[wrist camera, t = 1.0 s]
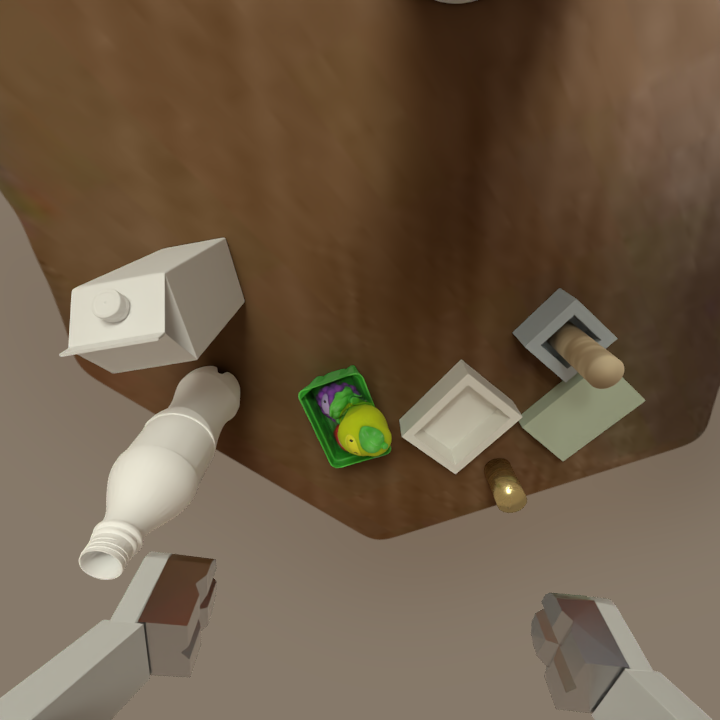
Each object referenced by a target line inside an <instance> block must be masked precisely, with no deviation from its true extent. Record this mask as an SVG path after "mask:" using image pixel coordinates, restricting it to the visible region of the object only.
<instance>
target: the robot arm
mask: <svg viewBox="0 0 720 720" xmlns="http://www.w3.org/2000/svg"><path fill="white" fill-rule="evenodd" d="M436 1H439V2H444V3H453V4H456V3H468V2H472V1H476V0H436ZM215 571H216V559H209V558H201V557H193V556H186V555H178V554H171V553H161V552H150V553H149V554H148V555H147V556H146V557H145V558H144V560H143V562H142V563H141V565H140V567H139V569H138V571H137V573H136V574H135V576H134V578H133V580H132V581H131V583H130V585H129V587H128V589H127V591H126V592H125V594H124V596H123V598H122V600H121V601H120V603H119V605H118V607H117V609H116V610H115V613H114V614H113V616H112V618H111V620H103V621H101V622H100V623H98V624H97V625H96V626H94V627H93V628H92V629H91V630H89V631H88V632H87V633H86V634H84V635H83V636H81V637H80V638H79V639H77V640H76V641H75V642H74V643H72V644H71V645H70V646H68V647H67V648H66V649H64V650H63V651H62V652H60V653H59V654H58V655H56V656H55V657H54V658H52V659H51V660H50V661H49V662H47V663H46V664H45V665H43V666H42V667H41V668H39V669H38V670H37V671H35V672H34V673H33V674H31V675H30V676H29V677H27V678H26V679H25V680H24V681H22V682H21V683H20V684H18V685H17V686H16V687H14V688H13V689H12V690H10V691H9V692H8V693H6V694H5V695H4V696H3V697H1V698H0V720H111V719H113V718H114V716H115V715H116V714H117V713H118V712H119V711H120V710H121V709H122V708H123V707H124V706H125V705H126V704H127V703H128V701H129V700H130V699H131V698H132V697H133V696H134V695H135V694H136V693H137V692H138V691H139V690H140V688H141V687H142V686H143V685H144V684H145V683H146V682H147V681H148V680H149V679H150V675H155V676H156V675H157V676H173V677H175V676H176V677H191V674H192V671H193V668H194V665H195V661H196V659H197V656H198V653H199V650H200V647H201V631H202V630H203V629H204V628H205V627H206V626H207V625H208V623H209V620H210V616H211V613H212V610H213V605H214V601H215V596H216V580H215V579H214V578H213V577H214V574H215ZM542 604H543V607H544V609H542V610H540V611H539V612H537V613H535V616H534V618H533V620H532V625H531V626H532V628H531V636H532V641H533V646H534V649H535V651H536V654H537V656H538V658H539V659H540V660H541V661H542V662H543V663H544V664H545V665H546V666H547V668H546V671H545V675H544V677H545V680H546V683H547V685H548V688H549V691H550V694H551V697H552V700H553V702H554V705H555V708H556V709H560V710H568V711H576V712H585V713H593V714H592V715H591V716H592V717H593V718H594V720H712V719H711V718H710V717H709V716H708V715H707V714H706V713H705V712H704V711H702V710H701V709H700V708H699V707H698V706H697V705H696V704H695V703H694V702H692V701H691V700H690V699H689V698H688V697H687V696H686V695H685V694H684V693H682V692H681V691H680V690H679V689H678V688H677V687H676V686H675V685H674V684H673V683H671V682H670V681H669V680H668V679H667V678H666V677H665V676H664V675H663V674H661V673H660V672H657V671H653V669H652V668H651V666H650V664H649V663H648V661H647V659H646V657H645V656H644V654H643V652H642V650H641V649H640V647H639V645H638V644H637V642H636V640H635V638H634V636H633V635H632V633H631V631H630V630H629V628H628V626H627V624H626V623H625V621H624V619H623V617H622V616H621V614H620V612H619V610H618V609H617V607H616V605H615V604H614V603H613V602H612V601H611V600H610V599H606V598H596V597H587V596H581V595H570V594H558V593H548V594H546V595H545V596H544V598H543V600H542Z"/></svg>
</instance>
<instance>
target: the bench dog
mask: <svg viewBox="0 0 720 720" xmlns="http://www.w3.org/2000/svg"><path fill="white" fill-rule="evenodd" d="M484 473H485V475H486V478H487V480H488V483H489V486H490V488H491V491H492V493H493V496H494V498H495V501H496V504H497V506H498V508H499V509H500V510H501V511H503V512H507V513H513V512H517V511H519V510H521V509H522V508H523V507H524V506H525V505H526V503H527V498H526V495H525V493H524V491H523V489H522V487H521V485H520V483H519V481H518V479H517V477H516V475H515V473H514V471H513V469H512V466H511V464H510V463H509V462H508V461H507V460H505V459H502V458H497V459H493V460H491V461H489V462H488V463H487V464H486V466H485V468H484Z"/></svg>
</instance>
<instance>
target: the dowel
mask: <svg viewBox="0 0 720 720" xmlns="http://www.w3.org/2000/svg"><path fill="white" fill-rule="evenodd" d="M546 341H547V342H548V343H549V344H550V345H551V346H552V347H553V348H554V349H555V350H556V351H557V352H558V353H559V354H560V355H561V356H562V357H563V358H564V359H565V360H566V361H567V362H568V363H569V364H570V365H571V366H572V367H573V368H574V369H575V370H576V371H577V372H578V373H579V374H580V375H581V376H582V377H583V378H584V379H585V380H586V381H587V382H588V383H589V384H590V385H591V386H593V387H595V388H598V389H606V388H609V387H612V386H614V385H615V384H617V383H618V382H619V381H620V380H621V378H622V376H623V374H624V365H623V363H622V362H621V361H620V360H619V359H618V358H616V357H615V356H614V355H612V354H611V353H610V352H609V351H607V350H606V349H605V348H604V347H602V346H601V345H600V344H598V343H597V342H596V341H595V340H593V339H592V338H591V337H589V336H588V335H587V334H586V333H584V332H583V331H582V330H580V329H579V328H578V327H577V326H575V325H574V324H573V323H571V322H570V321H569V320H568V321H567V322H566V323H565V324H564V325H563V326H562V327H561V328H559V329H558V330H557V331H556V332H555V333H554V334H553V335H552V336H551V337H550V338H548V339H547V340H546Z"/></svg>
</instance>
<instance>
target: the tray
mask: <svg viewBox="0 0 720 720" xmlns="http://www.w3.org/2000/svg"><path fill="white" fill-rule="evenodd" d="M521 418H522V415H521V413H520V412H519V410H518V409H517V407H516V405H515V404H514V402H513V401H512V400H511V399H510V398H508V397H507V396H506V395H505V394H503V393H502V392H501V391H500V390H499V389H497V388H496V387H495V386H494V385H492V384H491V383H490V382H489V381H487V380H486V379H485V378H484V377H482V376H481V375H480V374H479V373H477V372H476V371H475V370H474V369H473V368H471V367H470V366H469V365H468V364H466V363H465V362H464V361H463V360H460V361H459V362H458V363H457V364H456V365H455V366H454V367H453V368H452V369H451V370H450V371H449V372H448V373H447V374H446V375H445V376H444V377H443V378H442V379H440V380H439V381H438V382H437V383H436V384H435V385H434V386H433V387H432V388H431V389H430V390H429V391H428V392H427V393H426V394H425V395H424V396H423V397H422V398H421V399H420V400H419V401H418V402H417V403H416V404H415V405H414V406H413V407H412V408H411V409H410V410H409V411H408V412H407V413H406V414H405V415H404V416H403V417H402V418H401V419H399V422H400V429H401V436H402V437H403V438H404V439H406V440H407V441H408V442H410V443H411V444H413V445H414V446H416V447H417V448H418V449H420V450H421V451H423V452H424V453H426V454H427V455H429V456H430V457H431V458H433V459H434V460H436V461H437V462H439V463H440V464H441V465H443V466H444V467H446V468H447V469H449V470H450V471H451V472H453V473H454V474H456V473H458V472H459V471H460V470H461V469H462V468H463V467H465V466H466V465H467V464H468V463H469V462H471V461H472V460H473V459H474V458H475V457H476V456H478V455H479V454H480V453H481V452H482V451H483V450H485V449H486V448H487V447H488V446H489V445H491V444H492V443H493V442H494V441H495V440H496V439H498V438H499V437H500V436H501V435H502V434H503V433H505V432H506V431H507V430H508V429H509V428H511V427H512V426H513V425H514V424H515V423H516V422H518V421H519V420H520V419H521Z"/></svg>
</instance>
